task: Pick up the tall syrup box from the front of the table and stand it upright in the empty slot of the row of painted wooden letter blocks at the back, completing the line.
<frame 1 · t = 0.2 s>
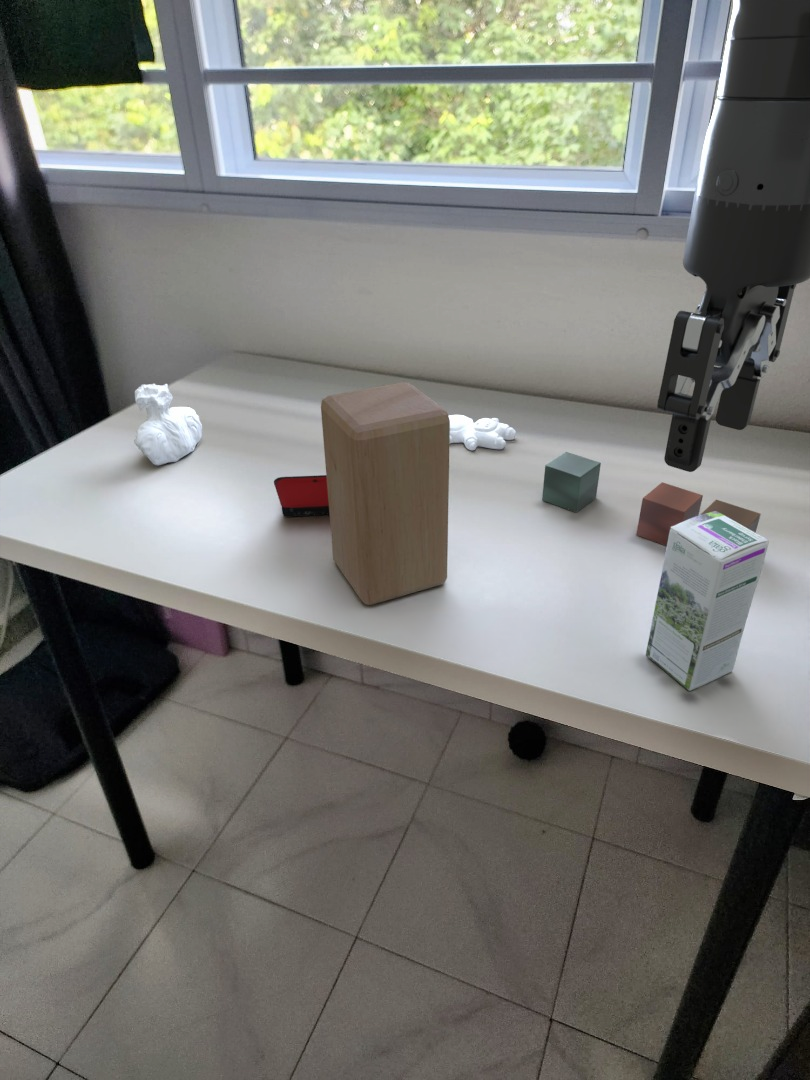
hand: (707, 445, 52), 25 cm above the table, tool pointing down, fingers open, 8 cm apart
syrup box: (687, 665, 69), on the table
bust: (170, 454, 109), on the table
handheld console: (333, 510, 95), on the table
astronaut figurine: (473, 439, 112), on the table
block line: (615, 515, 92), on the table
wooden block: (389, 574, 82), on the table
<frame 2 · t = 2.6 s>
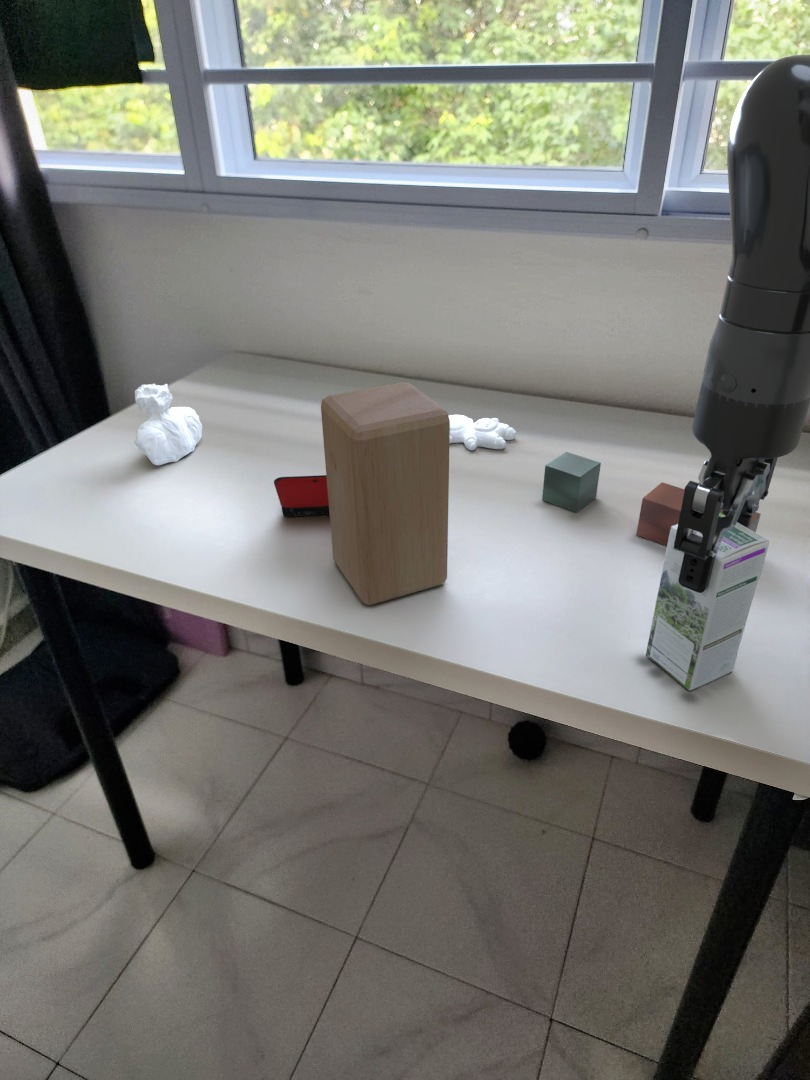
hand: (710, 567, 63), 11 cm above the table, tool pointing down, fingers closed on syrup box, 7 cm apart
syrup box: (687, 665, 69), on the table, touching gripper
everything else where it was.
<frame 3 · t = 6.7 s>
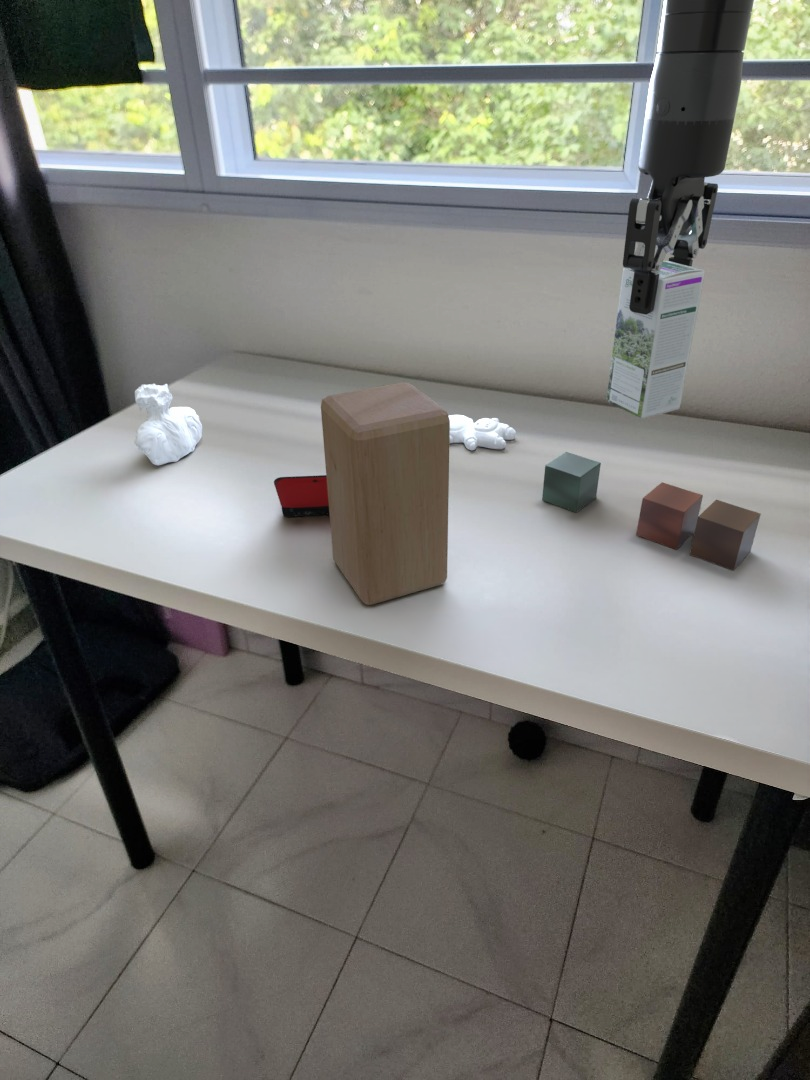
hand: (658, 303, 75), 27 cm above the table, tool pointing down, fingers closed on syrup box, 7 cm apart
syrup box: (641, 407, 81), point 16 cm above the table, touching gripper
everything else where it was.
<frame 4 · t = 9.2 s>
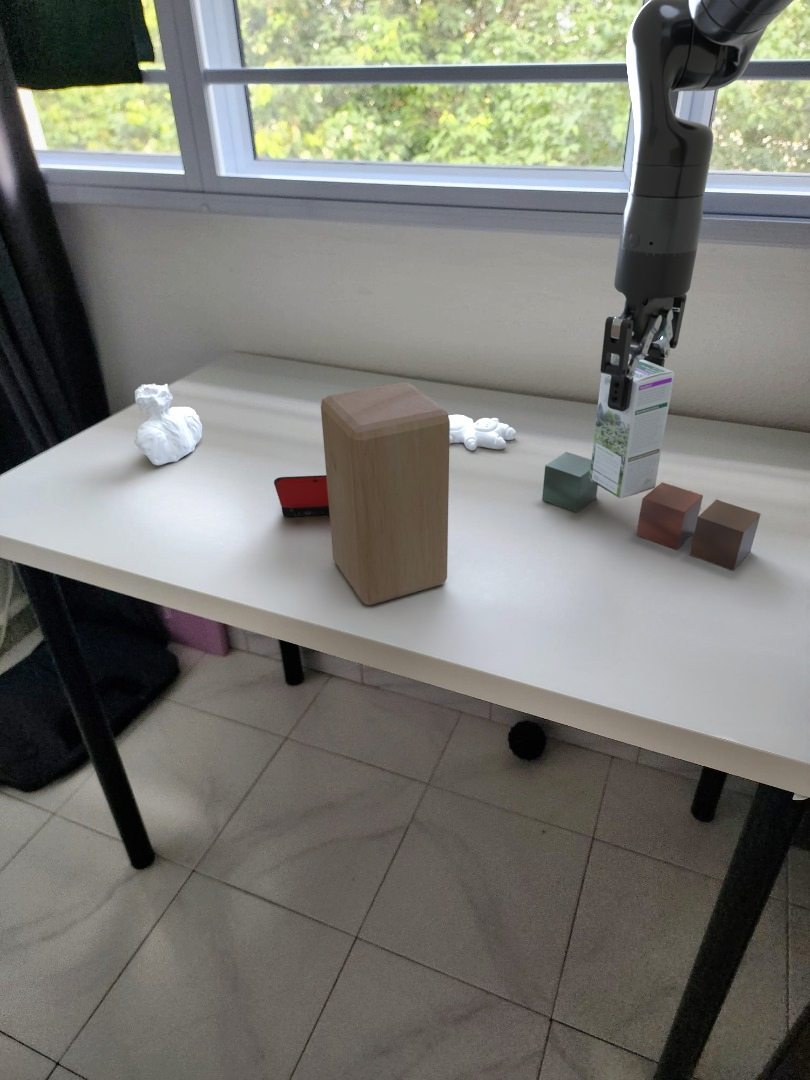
hand: (634, 398, 84), 15 cm above the table, tool pointing down, fingers closed on syrup box, 7 cm apart
syrup box: (620, 486, 89), point 4 cm above the table, touching gripper
everything else where it was.
when the fingers open (11 cm above the table, at t = 10.9 s): syrup box stays where it is, on the table.
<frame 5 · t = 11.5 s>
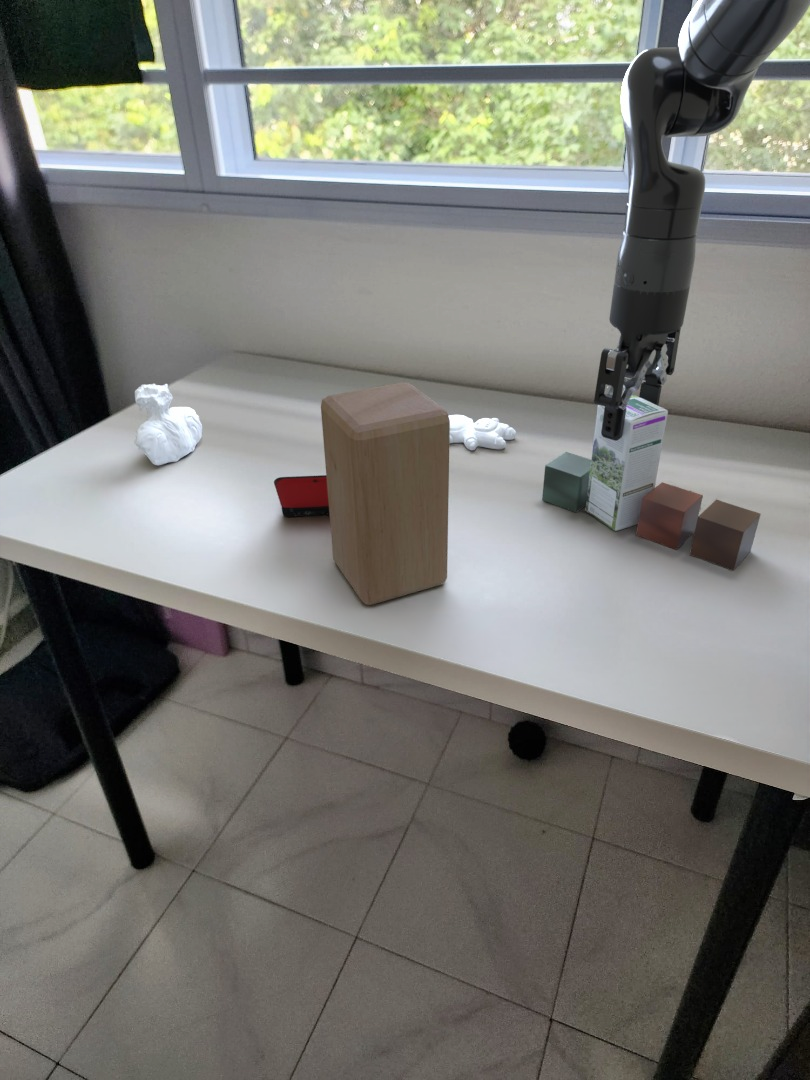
hand: (629, 425, 85), 12 cm above the table, tool pointing down, fingers open, 8 cm apart
syrup box: (616, 517, 92), on the table
everything else where it was.
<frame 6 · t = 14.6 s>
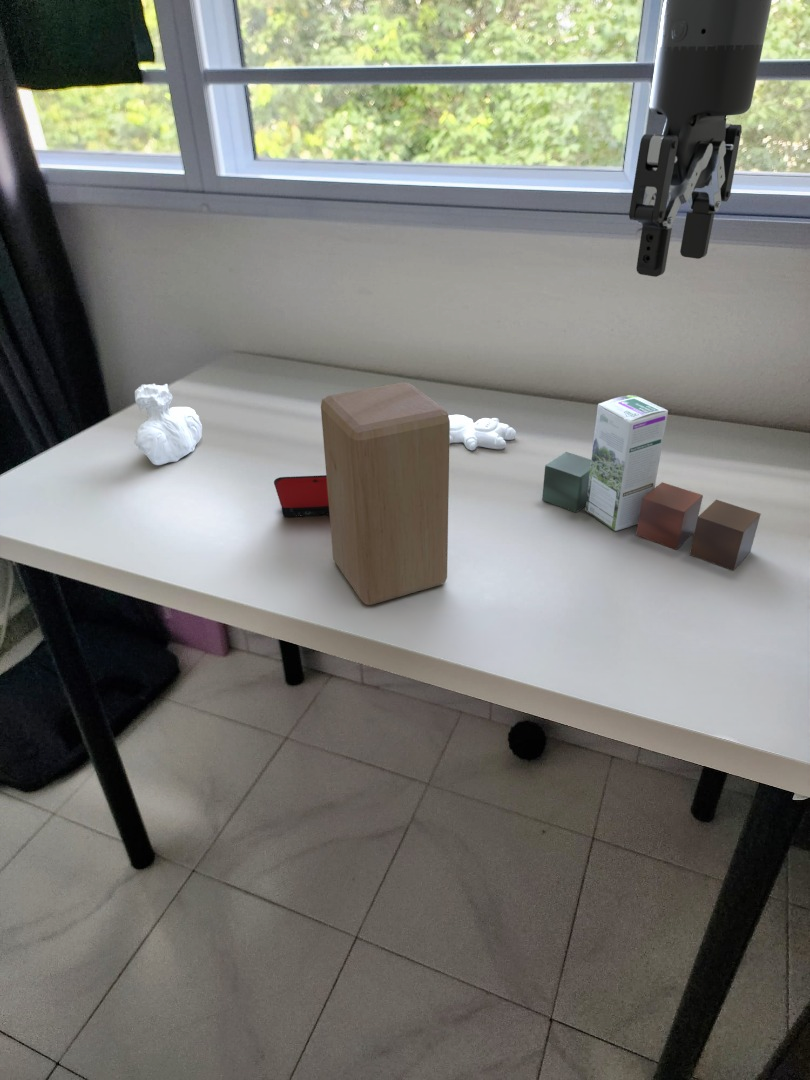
hand: (672, 265, 65), 32 cm above the table, tool pointing down, fingers open, 8 cm apart
nothing on the table moved.
at the end: syrup box 0.2 cm off-centre on the block line, point 0.0 cm above the block line's base; syrup box tilted 0°; the gripper is holding nothing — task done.
